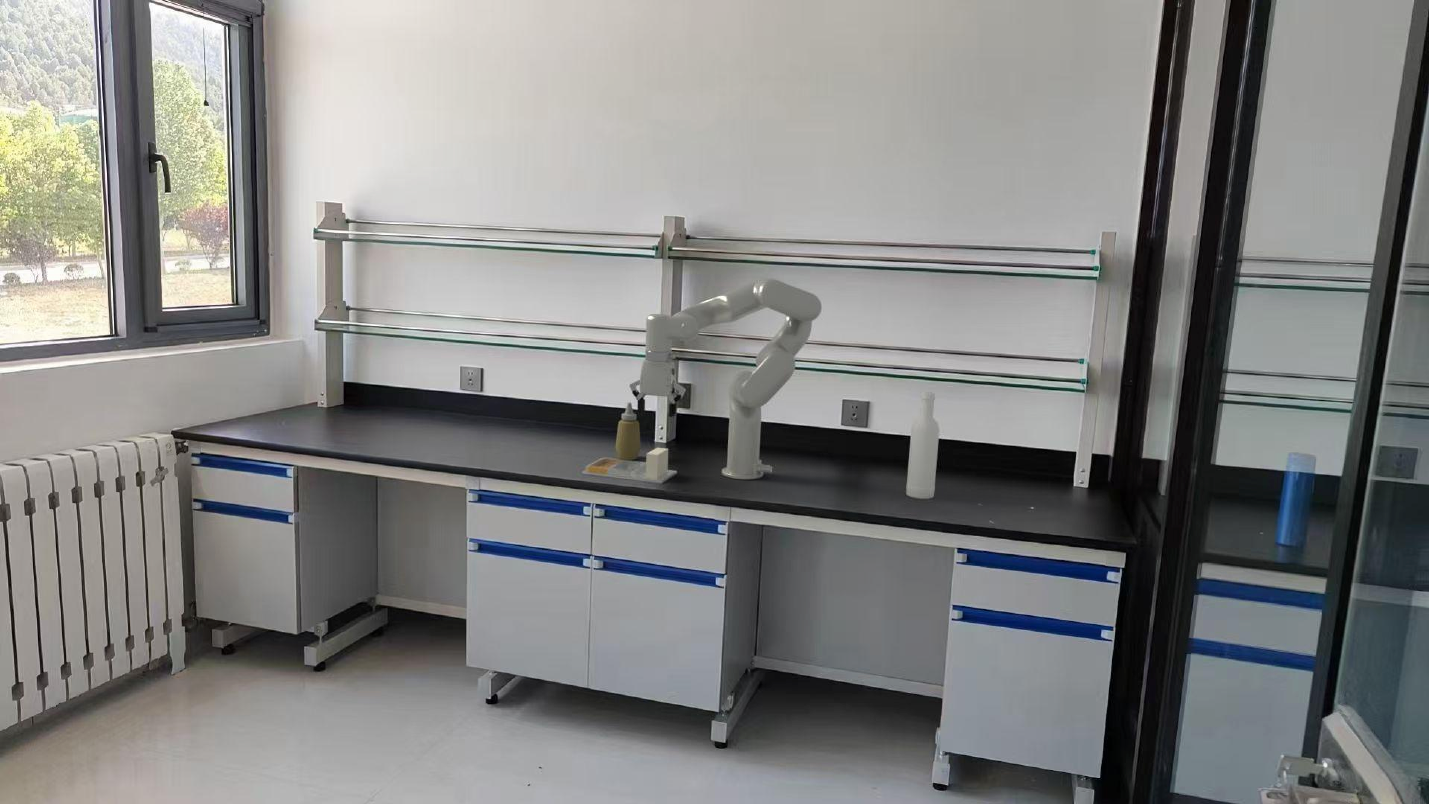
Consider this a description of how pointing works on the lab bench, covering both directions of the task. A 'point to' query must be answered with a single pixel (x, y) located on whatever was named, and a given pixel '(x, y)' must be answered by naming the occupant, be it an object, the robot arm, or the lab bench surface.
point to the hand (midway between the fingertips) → (656, 414)
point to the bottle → (923, 451)
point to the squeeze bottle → (628, 435)
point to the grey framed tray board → (624, 470)
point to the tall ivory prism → (657, 462)
